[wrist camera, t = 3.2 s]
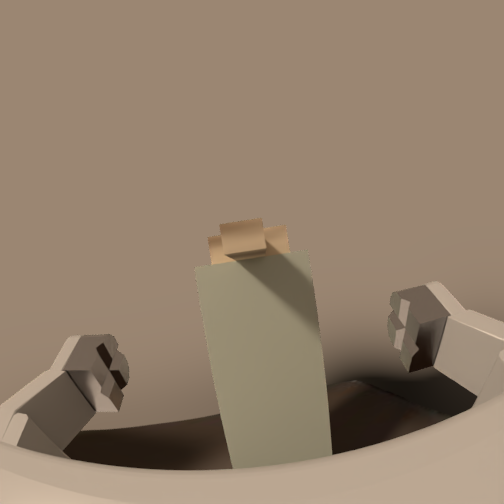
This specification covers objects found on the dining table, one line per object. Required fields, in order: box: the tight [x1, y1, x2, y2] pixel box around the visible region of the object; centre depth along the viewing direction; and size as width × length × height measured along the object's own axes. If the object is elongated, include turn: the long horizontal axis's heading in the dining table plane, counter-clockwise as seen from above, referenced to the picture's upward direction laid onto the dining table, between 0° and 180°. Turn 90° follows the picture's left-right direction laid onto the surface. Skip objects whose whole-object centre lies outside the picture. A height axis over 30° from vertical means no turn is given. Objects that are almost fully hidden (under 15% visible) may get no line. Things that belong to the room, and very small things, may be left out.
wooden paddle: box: [208, 218, 290, 265], centre depth 28 cm, size 18×7×2 cm, turn 178°
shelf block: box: [194, 250, 332, 469], centre depth 31 cm, size 10×9×26 cm
